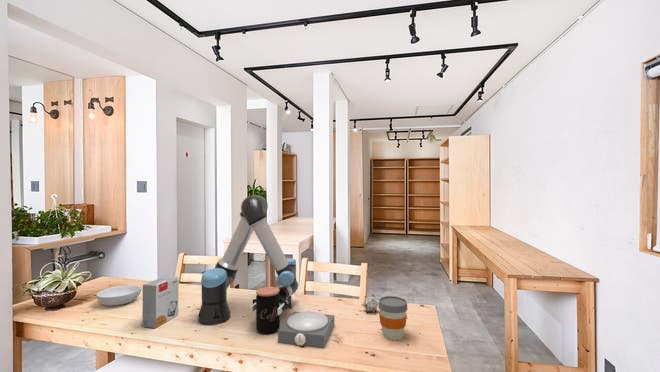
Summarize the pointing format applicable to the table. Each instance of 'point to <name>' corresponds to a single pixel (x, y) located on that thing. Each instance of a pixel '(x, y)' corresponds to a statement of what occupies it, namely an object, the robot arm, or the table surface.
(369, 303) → the game die
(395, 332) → the reusable coffee cup
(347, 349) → the table surface
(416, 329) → the table surface
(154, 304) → the hard drive box
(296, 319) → the kitchen scale
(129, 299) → the serving bowl
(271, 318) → the coffee jar
